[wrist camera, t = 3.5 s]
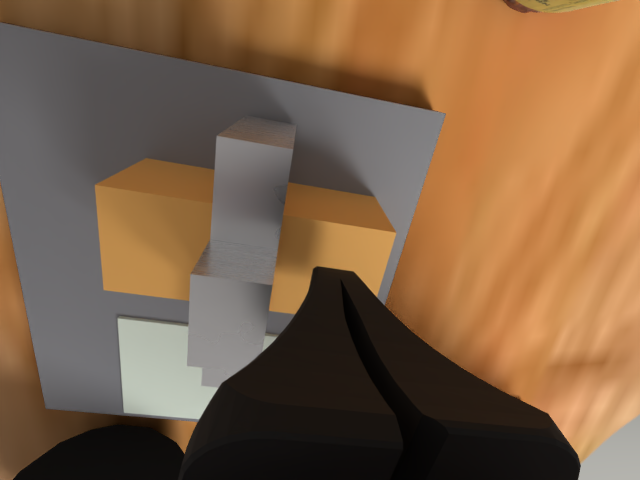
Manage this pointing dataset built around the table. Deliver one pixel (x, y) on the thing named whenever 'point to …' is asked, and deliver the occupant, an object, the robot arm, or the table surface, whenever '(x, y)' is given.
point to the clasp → (239, 248)
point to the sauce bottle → (552, 5)
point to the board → (171, 146)
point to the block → (195, 230)
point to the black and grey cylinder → (109, 457)
